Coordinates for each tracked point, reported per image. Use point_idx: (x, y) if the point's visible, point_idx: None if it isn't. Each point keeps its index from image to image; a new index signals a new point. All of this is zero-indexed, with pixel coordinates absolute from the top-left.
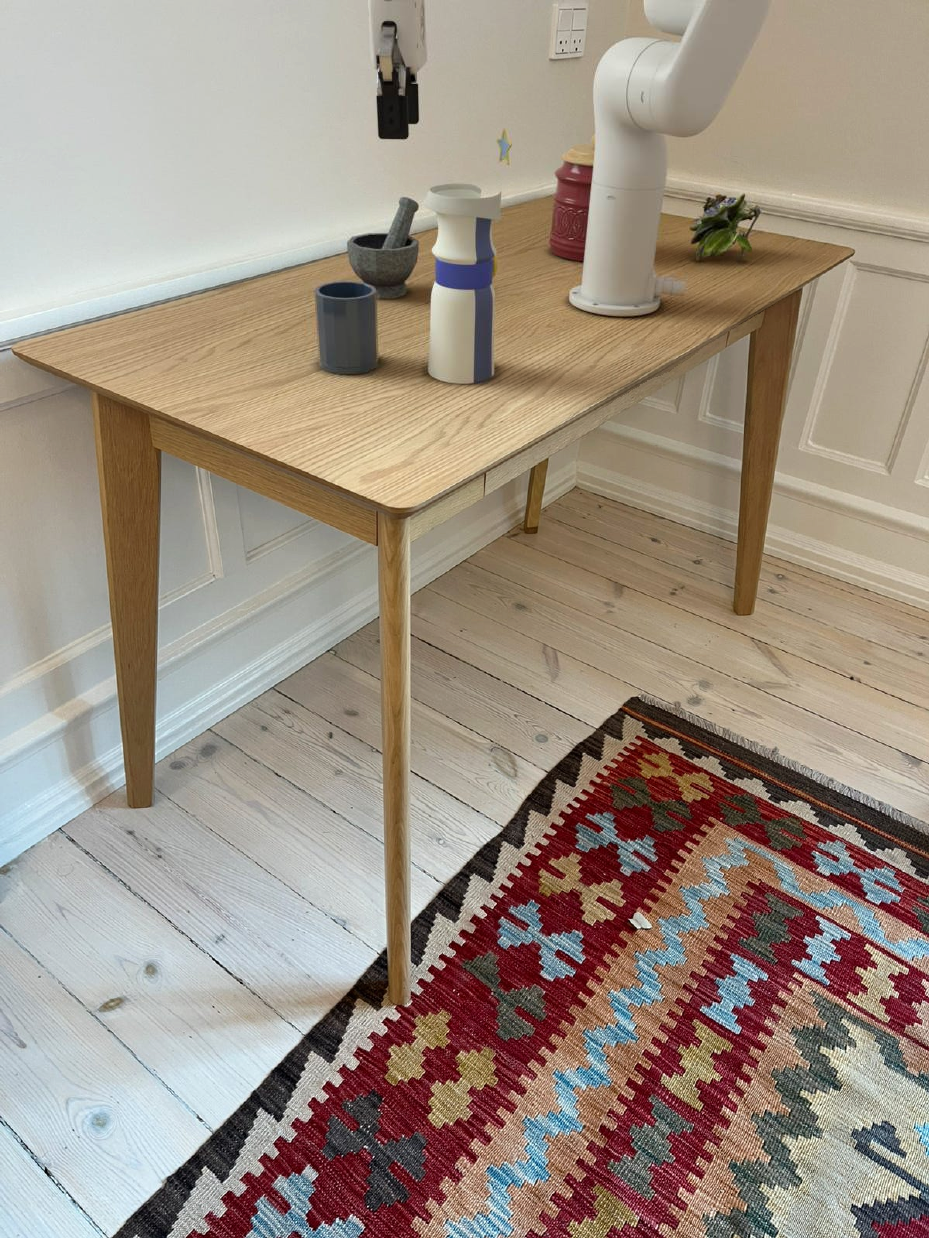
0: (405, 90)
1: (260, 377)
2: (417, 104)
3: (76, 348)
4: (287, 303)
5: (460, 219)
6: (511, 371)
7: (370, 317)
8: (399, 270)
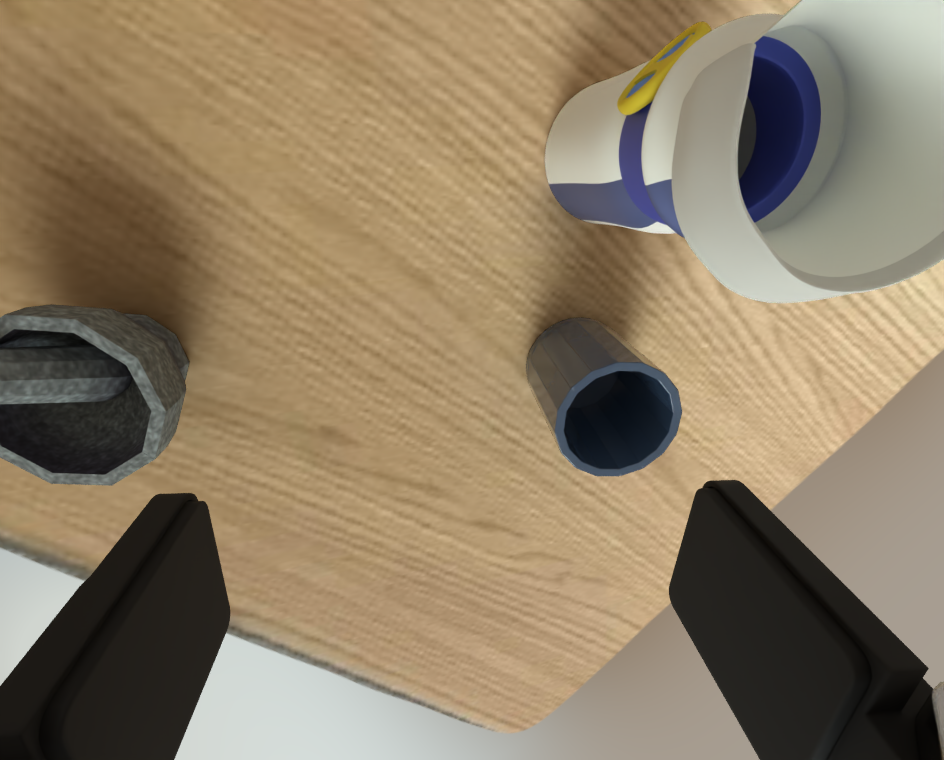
0: (114, 750)
1: (628, 475)
2: (134, 579)
3: (526, 686)
4: (273, 514)
5: (928, 148)
6: (607, 36)
7: (641, 354)
8: (157, 339)
